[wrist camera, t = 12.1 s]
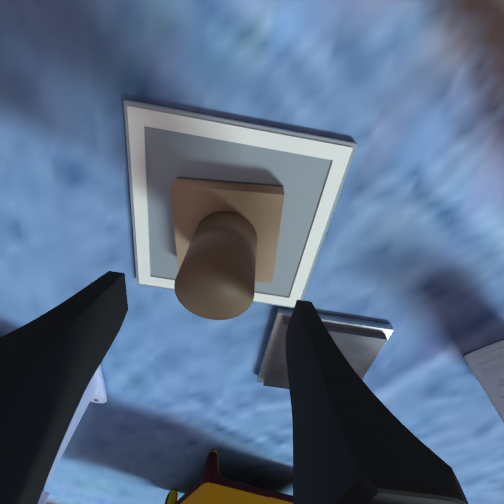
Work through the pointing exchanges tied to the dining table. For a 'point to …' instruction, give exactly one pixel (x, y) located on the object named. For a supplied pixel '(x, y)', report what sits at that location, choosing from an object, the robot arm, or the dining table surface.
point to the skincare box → (490, 372)
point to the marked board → (231, 169)
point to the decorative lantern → (225, 490)
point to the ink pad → (343, 333)
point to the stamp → (224, 242)
